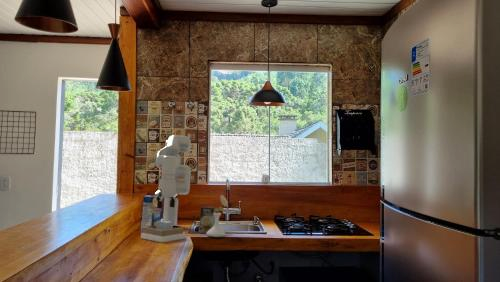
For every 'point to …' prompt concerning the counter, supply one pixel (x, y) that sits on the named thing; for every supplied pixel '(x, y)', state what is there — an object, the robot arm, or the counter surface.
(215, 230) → the flower in vase
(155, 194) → the robot arm
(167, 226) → the tall pale blue box
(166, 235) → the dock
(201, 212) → the coffee box
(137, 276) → the counter surface
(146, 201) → the beverage box
